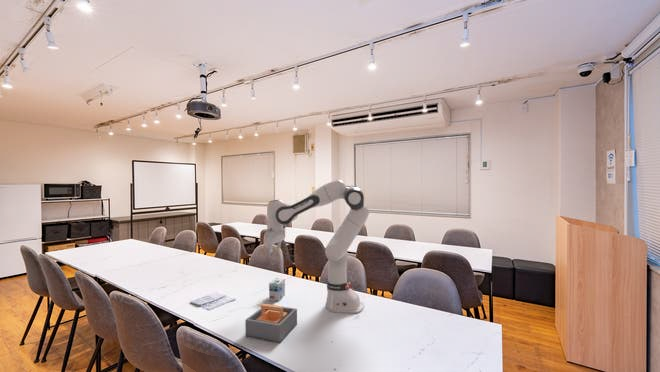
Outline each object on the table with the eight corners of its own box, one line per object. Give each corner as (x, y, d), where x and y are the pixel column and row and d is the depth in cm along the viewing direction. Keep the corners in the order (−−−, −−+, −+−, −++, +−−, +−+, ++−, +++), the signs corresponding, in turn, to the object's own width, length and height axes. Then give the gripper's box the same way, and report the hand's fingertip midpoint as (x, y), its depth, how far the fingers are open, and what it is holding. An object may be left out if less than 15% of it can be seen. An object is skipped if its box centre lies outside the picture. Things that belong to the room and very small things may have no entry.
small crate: (287, 324, 139) (287, 302, 139) (276, 335, 128) (276, 312, 128) (268, 321, 142) (268, 300, 142) (256, 332, 132) (256, 309, 132)
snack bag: (217, 294, 184) (217, 290, 185) (236, 300, 173) (236, 297, 173) (189, 304, 169) (189, 300, 169) (208, 312, 157) (207, 308, 157)
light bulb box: (279, 301, 170) (278, 283, 170) (268, 300, 171) (268, 283, 171) (285, 294, 181) (285, 278, 181) (275, 294, 182) (275, 277, 182)
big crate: (297, 324, 141) (296, 308, 141) (279, 343, 124) (279, 325, 124) (266, 319, 147) (266, 304, 147) (245, 337, 130) (245, 319, 130)
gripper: (270, 229, 153) (270, 255, 153) (287, 225, 173) (287, 247, 173) (260, 229, 155) (260, 254, 155) (277, 224, 175) (278, 246, 174)
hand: (274, 250), depth 164 cm, fingers open, 8 cm apart
